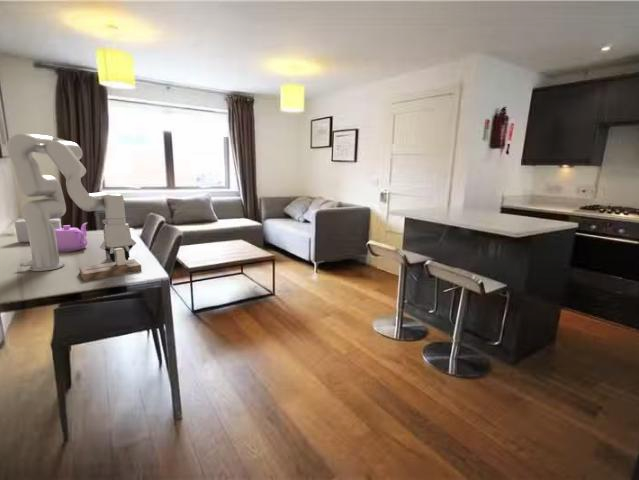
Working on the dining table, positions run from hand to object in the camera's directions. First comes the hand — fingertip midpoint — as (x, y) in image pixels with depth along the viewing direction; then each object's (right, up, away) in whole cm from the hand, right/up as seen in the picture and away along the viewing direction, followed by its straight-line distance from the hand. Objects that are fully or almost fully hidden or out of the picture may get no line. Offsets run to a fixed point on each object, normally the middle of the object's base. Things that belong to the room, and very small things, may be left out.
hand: (120, 260), depth 152 cm
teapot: (-49, +4, +37) cm, 61 cm away
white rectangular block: (0, -2, 0) cm, 2 cm away
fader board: (-3, -6, -2) cm, 7 cm away
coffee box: (-14, 0, +22) cm, 26 cm away
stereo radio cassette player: (-79, +8, +51) cm, 95 cm away
